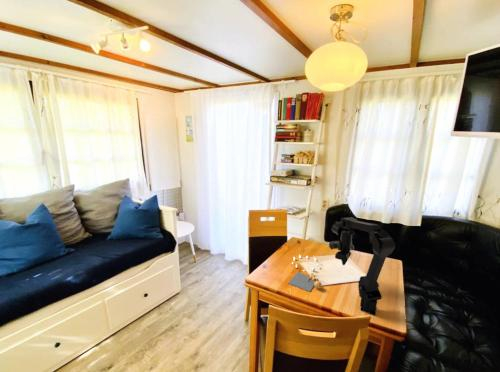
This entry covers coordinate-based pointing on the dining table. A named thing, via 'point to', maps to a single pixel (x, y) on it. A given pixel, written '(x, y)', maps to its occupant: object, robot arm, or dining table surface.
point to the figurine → (317, 283)
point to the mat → (302, 281)
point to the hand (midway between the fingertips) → (343, 264)
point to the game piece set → (307, 257)
